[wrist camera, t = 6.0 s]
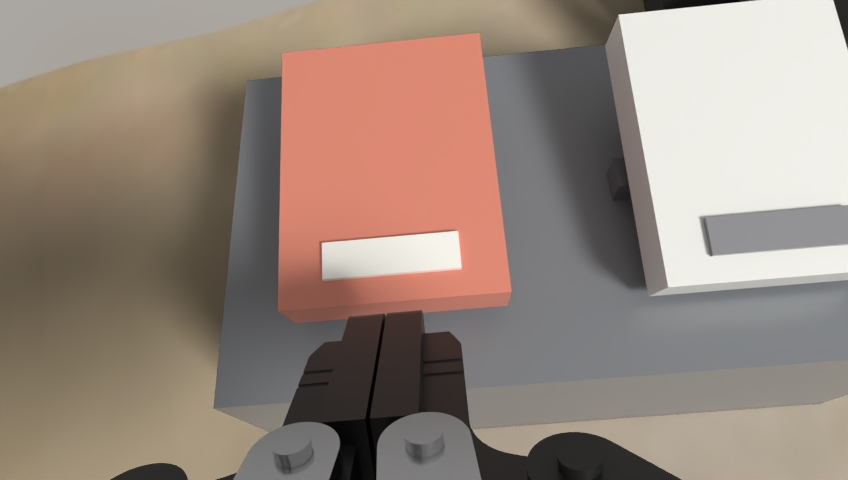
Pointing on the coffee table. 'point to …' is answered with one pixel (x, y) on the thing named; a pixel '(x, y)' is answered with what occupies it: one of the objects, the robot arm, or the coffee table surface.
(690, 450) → the coffee table surface
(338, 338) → the switch box
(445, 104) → the labelled salmon box
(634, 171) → the white block
